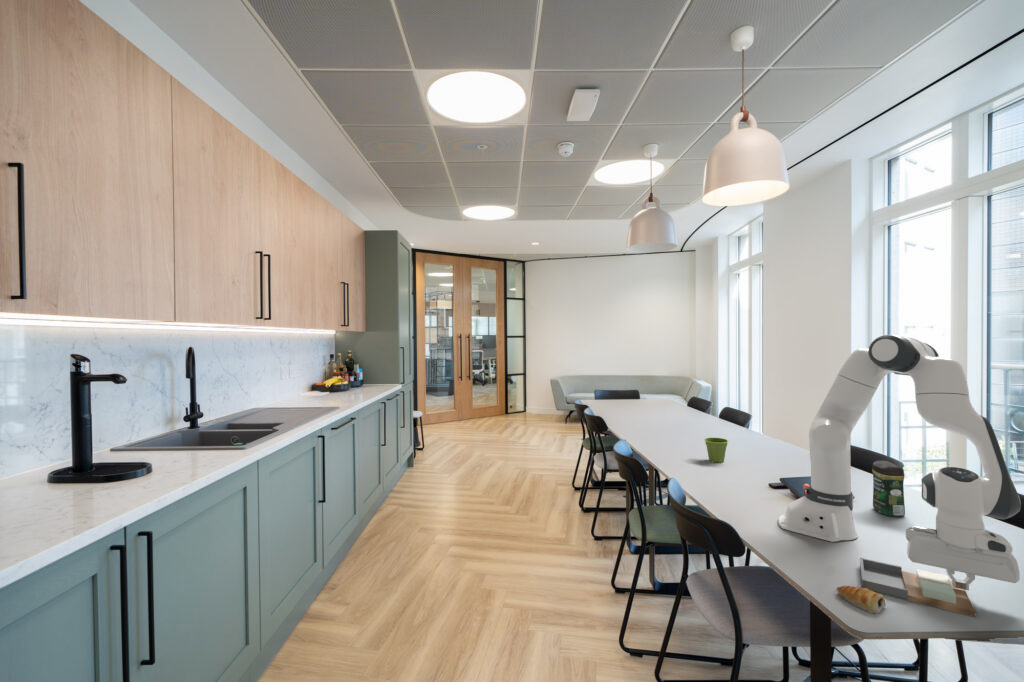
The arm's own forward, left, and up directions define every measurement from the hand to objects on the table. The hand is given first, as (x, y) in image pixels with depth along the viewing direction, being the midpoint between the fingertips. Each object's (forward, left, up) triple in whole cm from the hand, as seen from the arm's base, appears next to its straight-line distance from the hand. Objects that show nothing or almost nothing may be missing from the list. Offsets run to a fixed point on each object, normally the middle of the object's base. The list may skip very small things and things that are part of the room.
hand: (960, 587), depth 115 cm
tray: (-15, -3, -2) cm, 16 cm away
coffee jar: (-10, +57, -2) cm, 58 cm away
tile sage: (-5, -6, -1) cm, 8 cm away
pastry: (-20, -18, -2) cm, 27 cm away
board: (-5, -3, -2) cm, 6 cm away
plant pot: (-77, +96, -2) cm, 123 cm away
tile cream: (-5, 0, -1) cm, 5 cm away
